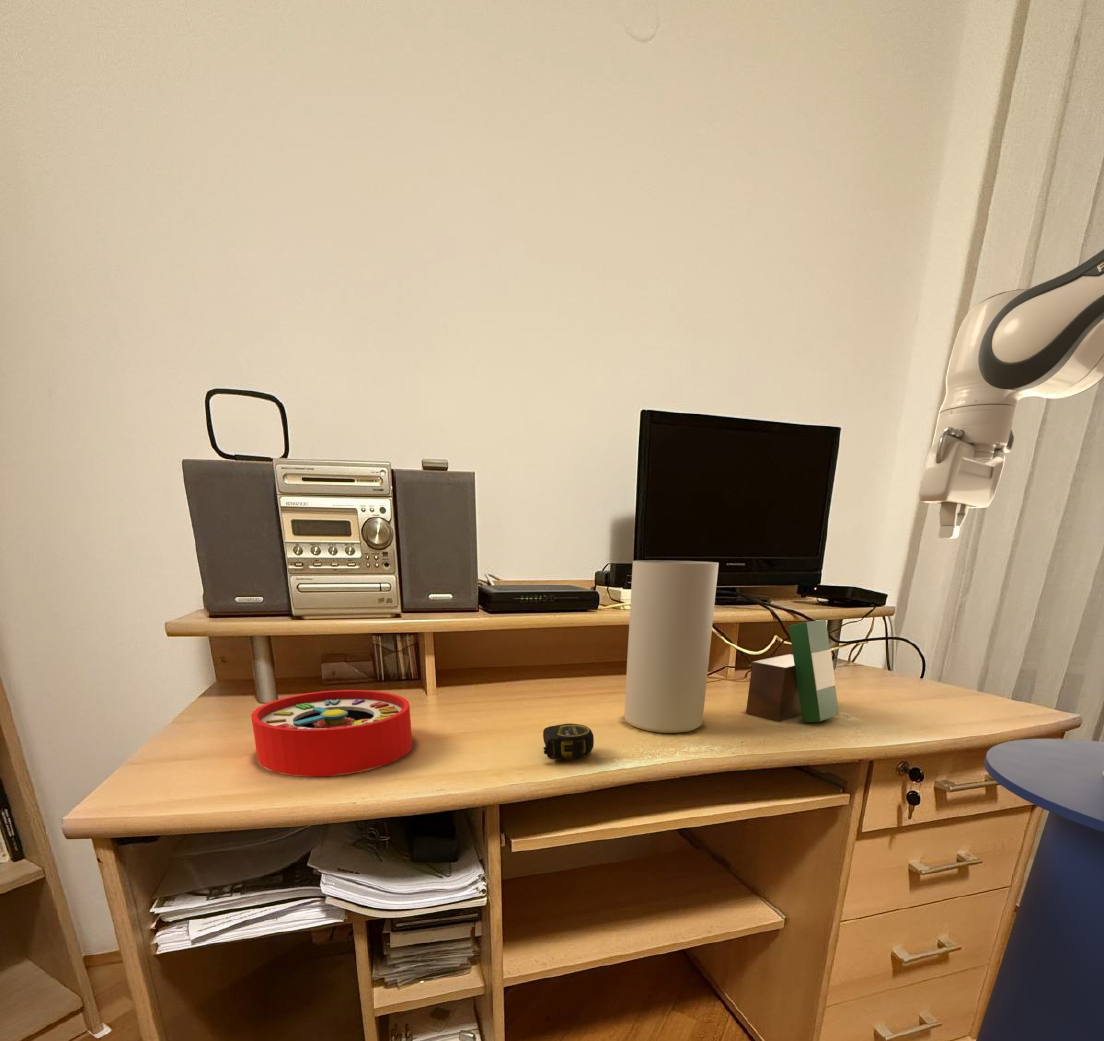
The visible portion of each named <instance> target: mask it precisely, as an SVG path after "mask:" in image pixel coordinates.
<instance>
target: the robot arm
mask: <svg viewBox="0 0 1104 1041" xmlns="http://www.w3.org/2000/svg"><path fill="white" fill-rule="evenodd" d="M948 362H949V363H948V367H947V371H946V376H945V388H946V389H945V397H944V399H943V402H942V404H941V406H940V408H939V411H938V415H937V420H936V426H935V431H934V435H933V440H932V445H931V447H930V449H929V451H928V454H927V457H926V460H925V462H924V463H925V464H924V467H923V471H922V474H921V477H920V478H921V479H920V482H919V487H918V500H919V502H921V503H928V504H935V505H940V508H939V512H938V513H939V515H938V516H939V530H938V538H939V539H957V538H958V537H959V536H960V532H961V528H962V526H963V523H964V521H965V519H966V517H967V516H968V513H969V509H980V508H981V509H982V508H988V507H989V506H990V505H991V503H992V502H993V500H994V498H995V496H996V492H997V489H998V486H999V483H1000V480H1001V478H1002V477H1001V476H1002V473H1003V469H1004V466H1005V461H1006V455H1005V454H1007V453H1008V454H1009V453H1010V452H1012V450H1013V447H1014V443H1015V436H1014V432H1013V429H1012V428H1013V419H1014V415H1015V412H1016V406H1017V403H1018V402H1019V401H1020V400H1021V399H1023V398H1027V397H1033V398H1045V399H1062V398H1068V397H1072V396H1076V395H1079V394H1081V393H1085V391H1087V390H1089V389H1091V388H1092V387H1094V386H1096V385H1097V384H1098V383H1099V382H1101V381H1102V380H1104V248H1103V249H1102V250H1100V251H1099V252H1097V253H1096V254H1095V255H1093V256H1092V257H1090V258H1089V259H1087V260H1085V261H1084V262H1082V263H1081V264H1079V265H1078V266H1076V267H1074V268H1073V269H1071V270H1069V271H1067V272H1065V273H1062V274H1061V275H1059V276H1056V277H1054V278H1052V279H1049V280H1047V281H1045V282H1042V283H1039V284H1037V285H1035V286H1032V287H1030V288H1029V289H1028V288H1019V289H1013V290H1008V291H1003V292H1000V293H997V294H994V295H992V296H990V297H987V298H985V299H984V300H983V301H980V302H979V303H978V304H976V305H974V306H973V307H972V308H970V310H969V311H968V313H967V314H966V315H965V317H964V318H963V320H962V322H961V324H960V326H959V328H958V331H957V334H956V337H955V340H954V343H953V347H952V350H951V354H950V358H949V361H948ZM1102 774H1103V776H1104V771H1103V773H1102Z"/></svg>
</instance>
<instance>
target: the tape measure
mask: <svg viewBox="0 0 1104 1041" xmlns="http://www.w3.org/2000/svg"><path fill="white" fill-rule="evenodd" d="M542 738H543V742H544V743H543V744H544V745H545V746H543V754H544V755H546V756H547V758H548V759H550V760H556V759H565V760H566V759H567V760H575V759H580V758H585V757H587V756H589V755H590V754H591V753H592V752H593V749H594V747H595V746H594V744H595V737H594V733H593V731H592V729H591V728H590V727H589V726H587V725H584V724H579V723H562V724H556V725H549V726H547V727H545V728H544V729H543V731H542Z"/></svg>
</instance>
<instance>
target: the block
mask: <svg viewBox="0 0 1104 1041" xmlns="http://www.w3.org/2000/svg"><path fill="white" fill-rule="evenodd" d="M748 685H749V686H748V693H747V700H746V708H745V713H746V714H748V715H752V716H755V717H760V718H763V719H767V720H771V721H775V722H779V721H782V720H786V719H788V718H792V717H794V716H798V715H802V713H801V706H800V699H799V692H798V685H797V678H796V672H795V665H794V658H793V653H789V654H783V655H779V656H778V655H777V656H774V657H769V658H763V659H759V660H755V661H752V662H751V669H750V678H749V684H748Z"/></svg>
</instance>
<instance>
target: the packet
mask: <svg viewBox="0 0 1104 1041" xmlns="http://www.w3.org/2000/svg"><path fill="white" fill-rule="evenodd" d="M788 630H789V638H790V644H791V651H792V655H793V658H794V665H795V672H796V678H797V685H798V692H799V699H800V706H801V719H802V723H816V722H817V723H818V722H823V721H826V720H828V719H830V718H831V719H832V718H834V717H836V716H839V715H840V710H839V703H838V702H839V701H838V695H837V688H836V676H835V670H834V663H833V656H832V649H831V645H830V638H829V631H828V624H827V619H826V618H824V619H819V620H811V621H805V622H800V623H795V624H791V625H788Z"/></svg>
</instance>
